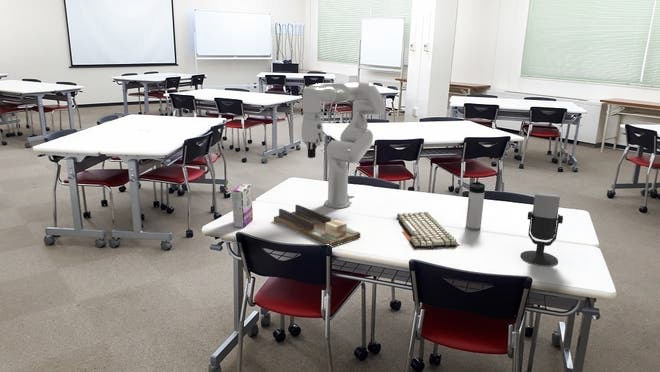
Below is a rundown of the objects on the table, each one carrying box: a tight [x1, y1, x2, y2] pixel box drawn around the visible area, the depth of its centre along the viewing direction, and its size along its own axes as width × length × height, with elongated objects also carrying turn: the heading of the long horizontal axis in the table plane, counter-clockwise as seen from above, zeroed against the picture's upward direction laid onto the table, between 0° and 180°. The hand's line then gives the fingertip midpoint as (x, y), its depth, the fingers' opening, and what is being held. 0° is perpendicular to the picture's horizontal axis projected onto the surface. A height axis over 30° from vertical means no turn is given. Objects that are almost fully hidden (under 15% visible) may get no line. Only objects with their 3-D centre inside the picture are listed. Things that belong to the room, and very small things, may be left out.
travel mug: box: [465, 181, 486, 232], centre depth 211 cm, size 6×7×20 cm
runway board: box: [273, 204, 361, 247], centre depth 208 cm, size 16×38×5 cm, turn 41°
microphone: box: [519, 192, 564, 267], centre depth 180 cm, size 13×13×25 cm
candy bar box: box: [231, 183, 254, 229], centre depth 212 cm, size 11×5×16 cm, turn 168°
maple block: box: [325, 219, 348, 238], centre depth 198 cm, size 6×6×4 cm
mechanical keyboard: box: [396, 211, 460, 250], centre depth 209 cm, size 38×19×3 cm, turn 8°
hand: (311, 157), depth 219 cm, fingers closed
